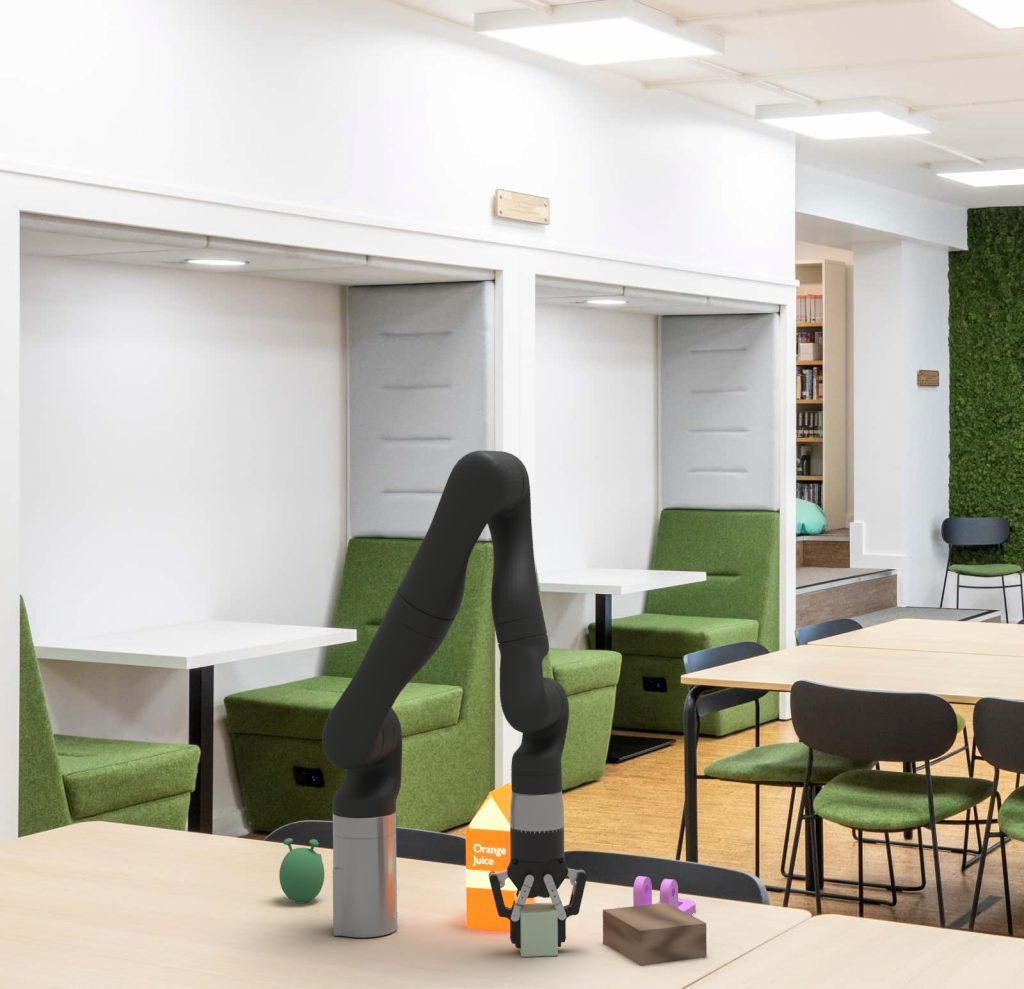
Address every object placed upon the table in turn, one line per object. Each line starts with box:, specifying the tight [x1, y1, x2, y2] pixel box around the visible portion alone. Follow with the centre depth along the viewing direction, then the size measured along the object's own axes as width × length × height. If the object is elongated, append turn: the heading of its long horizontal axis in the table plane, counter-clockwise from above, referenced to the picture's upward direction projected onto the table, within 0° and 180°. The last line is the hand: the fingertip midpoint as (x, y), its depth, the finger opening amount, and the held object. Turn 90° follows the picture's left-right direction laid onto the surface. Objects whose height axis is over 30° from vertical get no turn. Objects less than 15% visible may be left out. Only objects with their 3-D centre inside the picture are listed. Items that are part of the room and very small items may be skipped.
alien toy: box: [278, 837, 325, 903], centre depth 254 cm, size 7×8×10 cm
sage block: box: [518, 902, 559, 958], centre depth 225 cm, size 5×5×6 cm
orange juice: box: [465, 782, 535, 933], centre depth 240 cm, size 8×9×20 cm
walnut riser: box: [602, 903, 708, 967], centre depth 225 cm, size 10×12×5 cm
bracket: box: [632, 875, 697, 916], centre depth 242 cm, size 13×6×7 cm, turn 153°
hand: (538, 945), depth 225 cm, fingers closed on sage block, 5 cm apart
